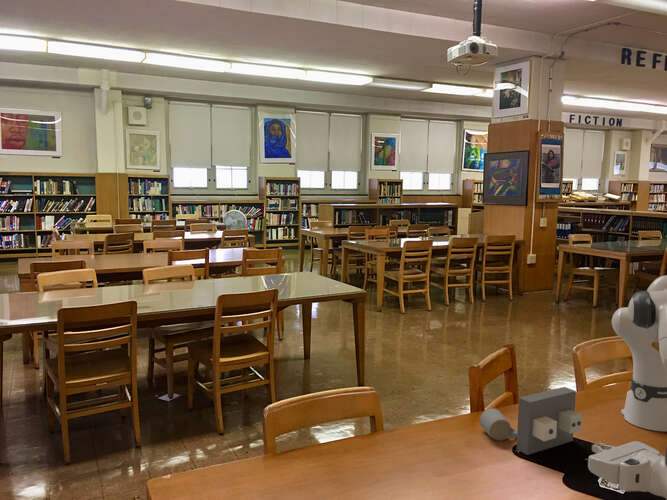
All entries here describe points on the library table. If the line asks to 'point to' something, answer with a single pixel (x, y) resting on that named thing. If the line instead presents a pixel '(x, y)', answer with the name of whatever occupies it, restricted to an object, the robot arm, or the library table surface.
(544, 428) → the one dot button
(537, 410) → the button panel
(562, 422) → the two dot button
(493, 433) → the ceramic mug
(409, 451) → the library table surface
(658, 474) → the robot arm
